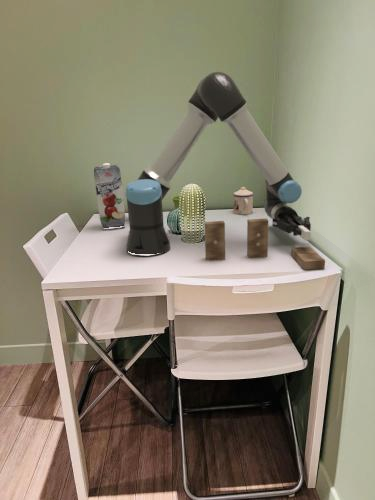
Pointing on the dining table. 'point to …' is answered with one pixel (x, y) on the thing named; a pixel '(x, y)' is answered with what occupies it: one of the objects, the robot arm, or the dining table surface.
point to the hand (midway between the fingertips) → (307, 236)
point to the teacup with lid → (243, 201)
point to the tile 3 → (307, 258)
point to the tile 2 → (257, 238)
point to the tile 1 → (215, 240)
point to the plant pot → (176, 201)
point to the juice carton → (109, 195)
